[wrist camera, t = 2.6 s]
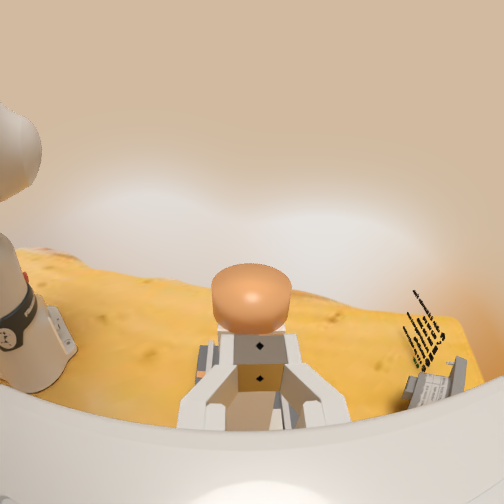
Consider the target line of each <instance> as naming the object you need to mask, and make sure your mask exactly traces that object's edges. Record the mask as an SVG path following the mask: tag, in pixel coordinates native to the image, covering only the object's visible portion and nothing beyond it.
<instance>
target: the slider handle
mask: <svg viewBox="0 0 504 504" xmlns="http://www.w3.org/2000/svg"><path fill="white" fill-rule="evenodd" d="M291 288H292V287H291V283H290V280H289V279H288V277H287V276H286V275H285V274H283V273H282V272H281V271H279V270H277V269H275V268H273V267H270V266H266V265H262V264H239V265H234V266H231V267H228V268H225V269H224V270H222V271H220V272H219V273H218V274H217V275H216V276H215V277H214V279H213V281H212V302H213V314H214V317H215V319H216V321H217V322H218V344H219V354H220V340H221V334H250V335H259V334H285V325H284V323H285V321H286V320H287V317H288V311H289V304H290V296H291ZM275 394H276V391H257V392H238V394H237V396H236V397H235V398H234V400H233V401H232V403H231V404H230V406H229V407H228V408H227V410H226V419H227V429H228V431H266V430H283V425H282V416H281V409H273V406H274V400H275Z"/></svg>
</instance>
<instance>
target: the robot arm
mask: <svg viewBox="0 0 504 504" xmlns="http://www.w3.org/2000/svg"><path fill="white" fill-rule="evenodd" d="M41 155H42V147H41V141H40V137H39V134H38V132H37V130H36V128H35V126H34V125H33V124H32V123H31V121H29V120H28V119H27V118H26V117H24V116H21V115H19V114H17V113H15V112H13V111H11V110H9V109H8V108H7V107H5V106H4V105H3V104H2V103H1V102H0V202H2V201H5V200H6V199H8V198H10V197H12V196H13V195H15V194H17V193H19V192H20V191H22V190H24V189H25V188H27V187H29V186H30V185H31V184H32V183H33V181H34V179H35V177H36V175H37V173H38V170H39V167H40V163H41ZM28 283H29V280H28V276H27V273H26V272H24V273H22V270H21V267H20V265H19V262H18V259H17V256H16V253H15V250H14V247H13V245H12V243H11V242H10V240H9V239H8V238H7V237H6V236H4V235H3V234H2V233H0V379H3V380H5V381H7V382H8V383H9V385H10V386H11V387H12V388H11V387H9V386H6V385H3V384H0V504H504V376H500V377H498V378H495V379H493V380H491V381H489V382H486V383H484V384H482V385H479V386H477V387H474V388H472V389H469V390H467V391H464V392H462V393H459V394H456V395H453V396H451V397H448V398H445V399H442V400H439V401H436V402H432V403H429V404H426V405H422V406H419V407H416V408H412V409H408V410H404V411H400V412H396V413H392V414H388V415H384V416H379V417H374V418H369V419H364V420H359V421H353V422H351V419H350V415H349V412H348V408H347V404H346V401H345V397H344V396H343V395H342V394H341V393H340V392H338V391H337V390H336V389H335V388H334V387H333V386H331V385H330V384H329V383H328V382H327V381H326V380H325V379H323V378H322V377H321V376H320V375H319V374H318V373H317V372H316V371H314V370H313V369H312V368H311V367H310V366H309V365H308V364H307V363H302V358H301V353H300V349H299V344H298V339H297V335H296V334H295V333H289V334H259V335H250V334H221V340H220V354H219V365H214V366H213V367H212V369H211V370H210V371H209V372H208V373H207V374H206V375H205V376H204V377H203V378H202V379H201V380H200V381H199V382H198V383H197V384H196V385H195V386H194V387H193V388H192V389H191V391H190V392H189V393H188V394H187V395H186V396H185V397H184V398H183V399H182V400H181V402H180V408H179V415H178V421H177V428H174V427H165V426H156V425H149V424H142V423H136V422H130V421H124V420H119V419H114V418H109V417H105V416H100V415H96V414H91V413H87V412H83V411H80V410H76V409H72V408H69V407H65V406H62V405H59V404H55V403H52V402H49V401H46V400H43V399H40V398H37V397H34V396H32V395H29V394H26V393H34V392H38V391H41V390H43V389H45V388H47V387H48V386H50V385H51V384H52V383H54V382H55V381H56V380H57V379H58V377H59V376H60V375H61V373H62V372H63V370H64V368H65V366H66V364H67V362H68V360H69V359H70V358H71V357H72V356H73V355H74V354H75V353H76V352H77V349H78V348H77V345H76V344H75V342H74V340H73V338H72V336H71V334H70V332H69V330H68V328H67V326H66V324H65V322H64V320H63V318H62V316H61V314H60V312H59V310H58V308H57V307H55V306H46V303H45V301H44V299H43V297H42V296H41V295H38V294H34V291H33V289H32V288H31V286H30V285H29V284H28ZM257 391H280V393H281V394H282V395H283V397H284V398H285V399H286V400H287V402H288V403H289V404H290V405H291V406H292V408H293V409H294V410H295V411H296V412H297V414H298V415H299V418H298V421H297V424H296V427H295V429H285V430H266V431H228V429H227V419H226V410H227V408H228V407H229V406H230V404H231V403H232V401H233V400H234V398H235V397H236V396H237V394H238V392H257Z"/></svg>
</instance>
